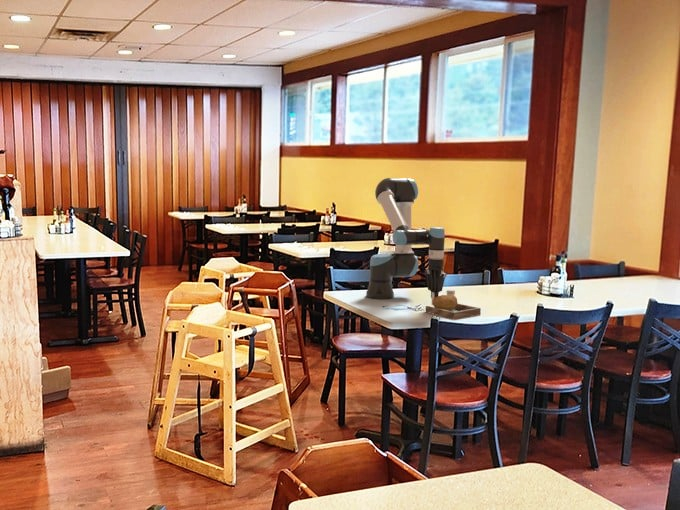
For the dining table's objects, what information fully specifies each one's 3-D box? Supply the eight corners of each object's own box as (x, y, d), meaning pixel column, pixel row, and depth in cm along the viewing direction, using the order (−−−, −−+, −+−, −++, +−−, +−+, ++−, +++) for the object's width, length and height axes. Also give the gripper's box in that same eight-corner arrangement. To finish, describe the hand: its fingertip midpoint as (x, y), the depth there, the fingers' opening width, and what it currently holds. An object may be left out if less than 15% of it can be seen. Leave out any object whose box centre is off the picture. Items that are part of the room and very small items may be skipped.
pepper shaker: (444, 306, 363) (444, 290, 362) (449, 305, 366) (450, 289, 365) (450, 307, 360) (451, 291, 359) (455, 306, 362) (456, 290, 361)
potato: (426, 310, 351) (427, 294, 350) (448, 308, 358) (449, 292, 357) (439, 314, 343) (439, 298, 342) (461, 311, 350) (462, 295, 349)
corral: (425, 312, 347) (425, 306, 346) (451, 307, 359) (451, 302, 359) (454, 318, 333) (454, 312, 332) (480, 314, 345) (480, 308, 344)
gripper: (421, 257, 354) (419, 303, 357) (440, 260, 344) (438, 307, 347) (431, 256, 359) (429, 302, 362) (450, 259, 349) (449, 306, 352)
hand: (434, 304), depth 355 cm, fingers closed
